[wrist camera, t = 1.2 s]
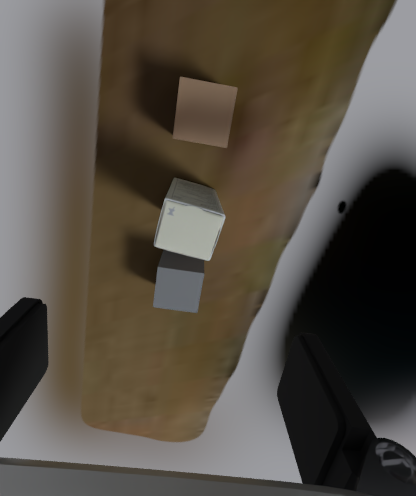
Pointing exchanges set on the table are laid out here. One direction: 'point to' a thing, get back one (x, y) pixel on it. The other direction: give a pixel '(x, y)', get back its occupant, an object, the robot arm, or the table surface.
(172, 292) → the grey cube
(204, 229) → the box
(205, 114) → the tan cube
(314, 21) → the table surface
